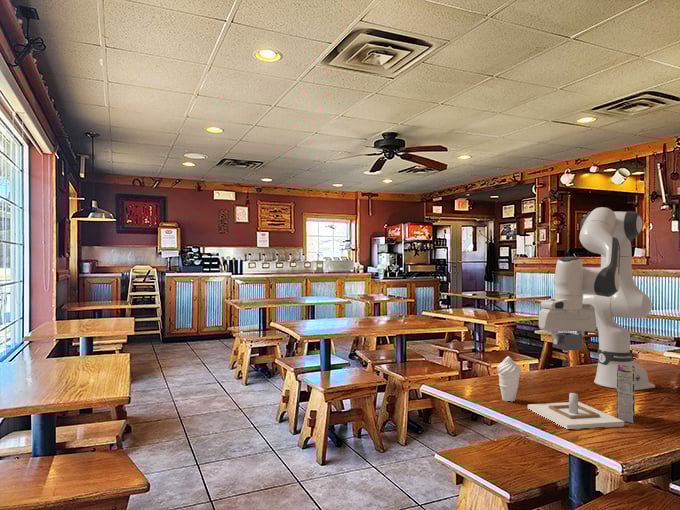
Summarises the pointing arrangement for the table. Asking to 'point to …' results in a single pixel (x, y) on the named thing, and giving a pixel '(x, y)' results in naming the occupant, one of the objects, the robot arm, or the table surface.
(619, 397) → the candy bar box
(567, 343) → the grey square tube
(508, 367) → the soft serve ice cream cone
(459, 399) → the table surface
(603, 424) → the post board
